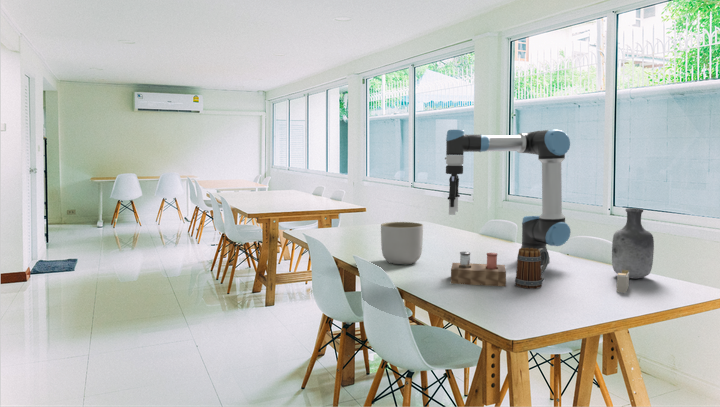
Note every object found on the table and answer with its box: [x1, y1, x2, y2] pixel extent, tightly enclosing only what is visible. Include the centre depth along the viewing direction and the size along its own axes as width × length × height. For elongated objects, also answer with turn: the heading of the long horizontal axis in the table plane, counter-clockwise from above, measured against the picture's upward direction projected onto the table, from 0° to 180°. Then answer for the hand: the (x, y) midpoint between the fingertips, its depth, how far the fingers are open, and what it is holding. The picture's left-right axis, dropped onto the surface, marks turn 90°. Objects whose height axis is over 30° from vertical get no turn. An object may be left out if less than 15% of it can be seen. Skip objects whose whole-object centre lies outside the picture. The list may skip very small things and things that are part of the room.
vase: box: [611, 207, 655, 280], centre depth 228 cm, size 16×16×30 cm
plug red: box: [486, 252, 498, 269], centre depth 221 cm, size 4×4×9 cm
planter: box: [380, 221, 424, 265], centre depth 261 cm, size 21×21×19 cm
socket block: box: [450, 262, 507, 287], centre depth 223 cm, size 22×14×6 cm, turn 77°
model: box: [616, 269, 630, 294], centre depth 209 cm, size 3×11×8 cm, turn 148°
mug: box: [514, 247, 550, 290], centre depth 216 cm, size 16×11×15 cm
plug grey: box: [459, 251, 472, 268], centre depth 224 cm, size 4×4×9 cm
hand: (453, 213), depth 234 cm, fingers open, 13 cm apart
